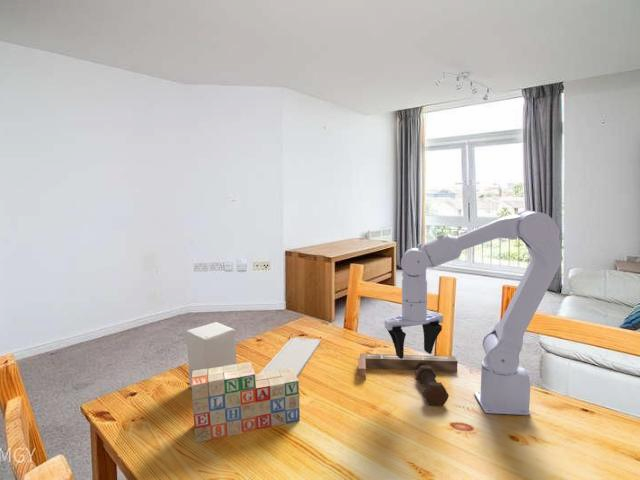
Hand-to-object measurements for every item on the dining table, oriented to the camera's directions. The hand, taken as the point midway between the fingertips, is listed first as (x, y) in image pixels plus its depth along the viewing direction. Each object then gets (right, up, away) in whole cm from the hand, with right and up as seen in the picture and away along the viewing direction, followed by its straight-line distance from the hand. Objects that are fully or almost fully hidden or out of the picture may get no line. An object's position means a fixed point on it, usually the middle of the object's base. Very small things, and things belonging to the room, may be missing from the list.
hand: (414, 354), depth 88 cm
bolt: (+4, -10, +3) cm, 11 cm away
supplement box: (-50, -10, +5) cm, 51 cm away
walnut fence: (+1, -8, +10) cm, 13 cm away
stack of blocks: (-38, -12, -10) cm, 41 cm away
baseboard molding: (-32, -9, +19) cm, 38 cm away
